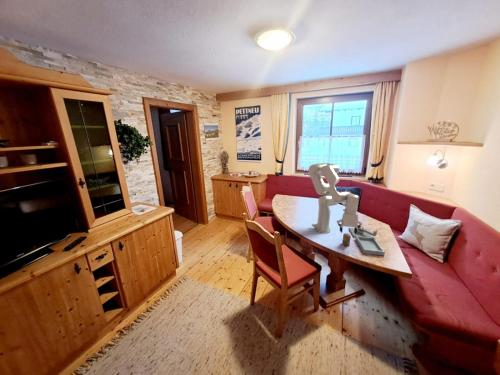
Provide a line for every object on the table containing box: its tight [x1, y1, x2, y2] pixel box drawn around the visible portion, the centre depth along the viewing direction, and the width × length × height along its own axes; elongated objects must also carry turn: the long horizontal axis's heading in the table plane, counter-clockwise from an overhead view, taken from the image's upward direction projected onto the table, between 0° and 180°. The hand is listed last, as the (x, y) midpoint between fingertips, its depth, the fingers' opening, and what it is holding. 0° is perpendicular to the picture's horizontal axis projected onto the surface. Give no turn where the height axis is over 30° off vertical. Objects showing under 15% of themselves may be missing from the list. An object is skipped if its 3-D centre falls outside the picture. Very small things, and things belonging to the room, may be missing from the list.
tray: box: [355, 236, 386, 256], centre depth 142 cm, size 13×19×3 cm
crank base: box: [348, 227, 373, 238], centre depth 161 cm, size 14×14×3 cm
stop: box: [341, 233, 352, 247], centre depth 145 cm, size 5×5×8 cm
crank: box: [358, 226, 378, 238], centre depth 155 cm, size 14×5×5 cm, turn 28°
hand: (348, 232), depth 143 cm, fingers open, 9 cm apart
